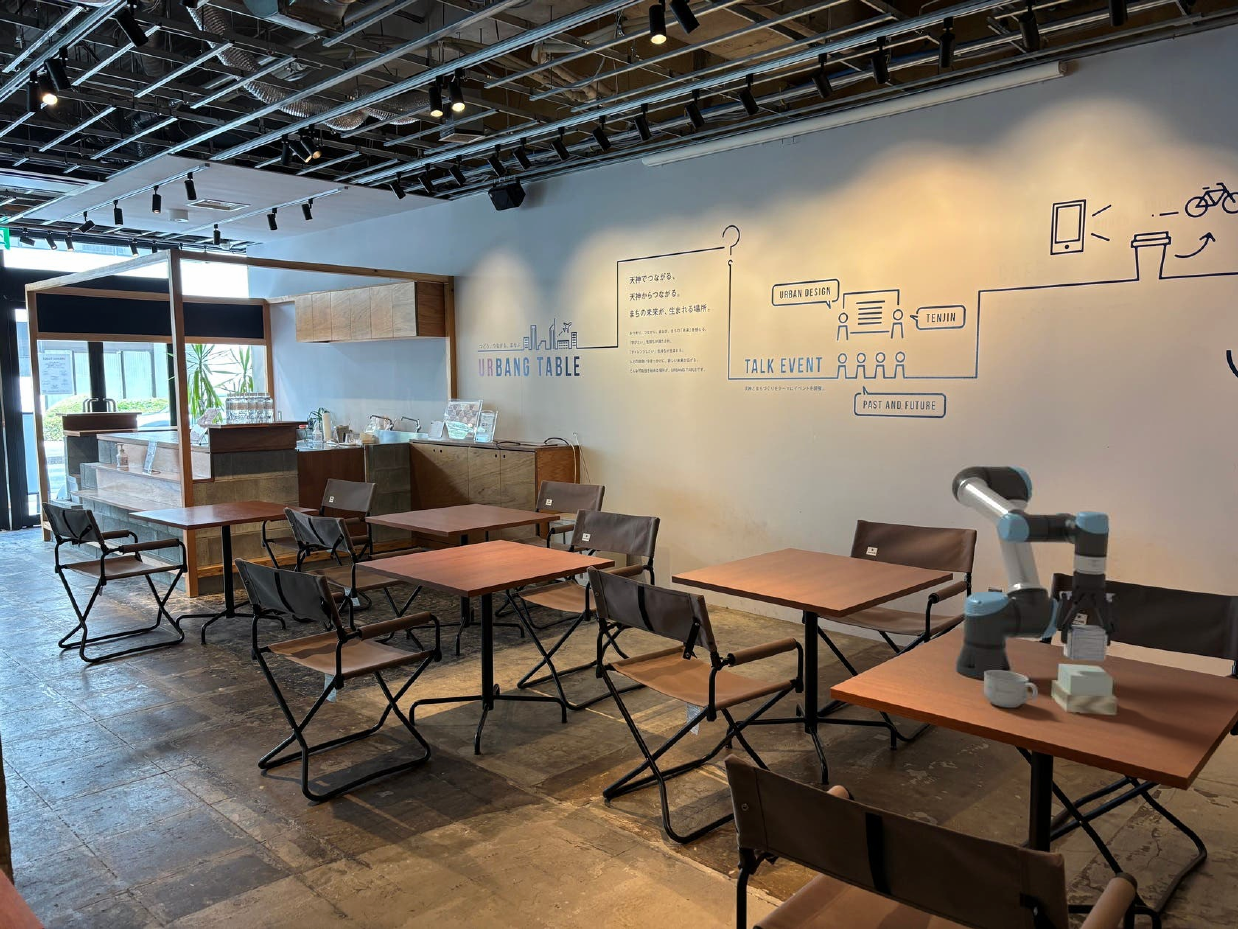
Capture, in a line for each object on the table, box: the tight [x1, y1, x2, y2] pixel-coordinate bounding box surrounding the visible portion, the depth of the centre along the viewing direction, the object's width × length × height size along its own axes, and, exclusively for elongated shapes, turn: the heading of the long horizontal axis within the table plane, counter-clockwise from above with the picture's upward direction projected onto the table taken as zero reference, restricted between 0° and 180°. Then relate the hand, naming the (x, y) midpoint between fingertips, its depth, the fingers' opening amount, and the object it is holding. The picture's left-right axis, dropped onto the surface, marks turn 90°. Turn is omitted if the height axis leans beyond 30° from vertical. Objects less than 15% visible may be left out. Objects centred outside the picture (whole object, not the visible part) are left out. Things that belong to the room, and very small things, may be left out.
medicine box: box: [1067, 624, 1106, 663], centre depth 228 cm, size 8×4×9 cm, turn 84°
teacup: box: [983, 670, 1039, 709], centre depth 229 cm, size 14×11×8 cm
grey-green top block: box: [1057, 663, 1114, 697], centre depth 229 cm, size 10×10×5 cm
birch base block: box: [1050, 679, 1118, 716], centre depth 230 cm, size 12×12×5 cm
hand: (1084, 656), depth 229 cm, fingers closed on medicine box, 8 cm apart
